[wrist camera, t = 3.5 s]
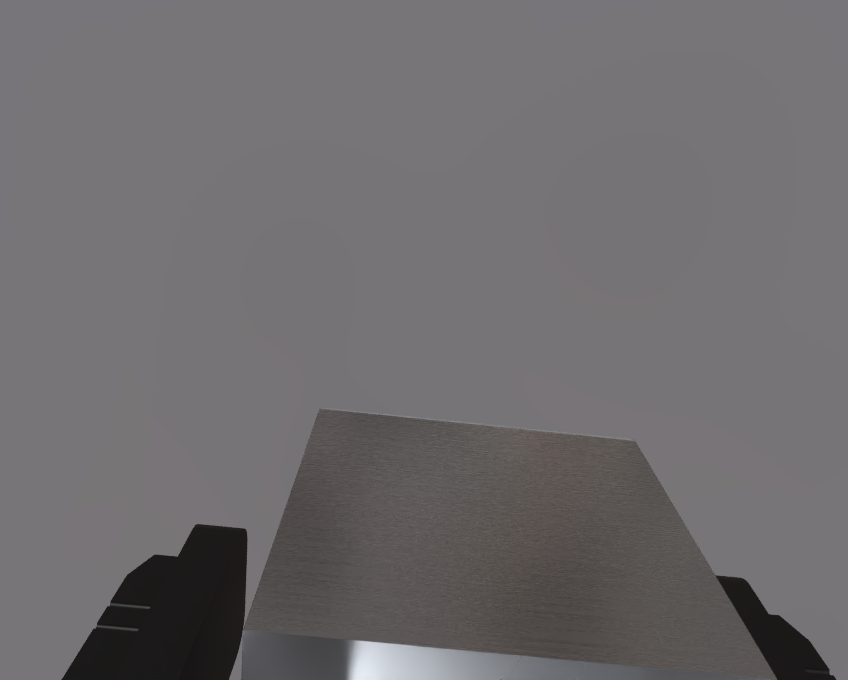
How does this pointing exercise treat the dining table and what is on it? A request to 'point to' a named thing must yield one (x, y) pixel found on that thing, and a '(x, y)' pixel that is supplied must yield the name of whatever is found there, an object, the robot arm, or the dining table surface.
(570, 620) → the grey recessed-face cube
